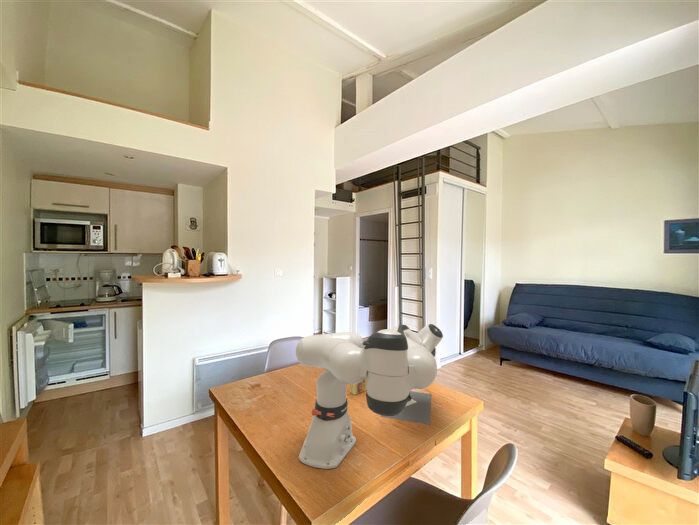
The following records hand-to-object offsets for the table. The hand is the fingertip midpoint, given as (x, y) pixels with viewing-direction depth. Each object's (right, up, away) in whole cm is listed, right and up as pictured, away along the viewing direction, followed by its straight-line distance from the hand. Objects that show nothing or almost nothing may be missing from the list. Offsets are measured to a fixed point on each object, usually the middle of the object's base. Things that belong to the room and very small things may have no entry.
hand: (400, 365), depth 130 cm
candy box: (-19, -17, +10) cm, 28 cm away
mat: (+2, -17, -4) cm, 18 cm away
